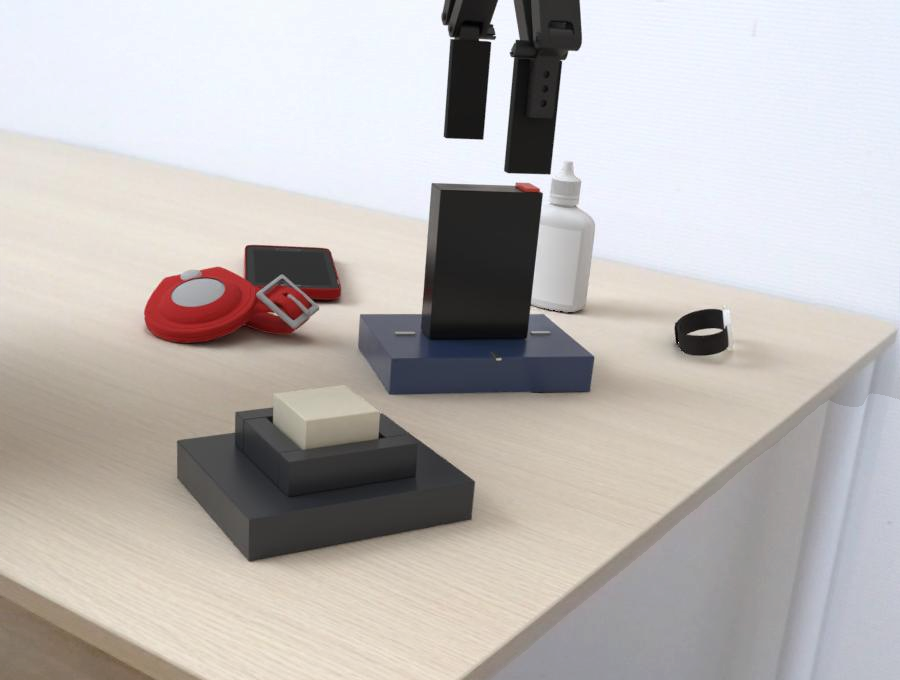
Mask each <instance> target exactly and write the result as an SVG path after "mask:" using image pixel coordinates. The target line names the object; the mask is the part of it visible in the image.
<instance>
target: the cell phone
mask: <svg viewBox="0 0 900 680" xmlns="http://www.w3.org/2000/svg"><path fill="white" fill-rule="evenodd" d="M243 256H244V257H243V259H244V279H245V280H247V281H248V282H250V283H251V284H252V285H253V286H255V287H257V288H260V289H263V288H264V287H265V286H267V285H268V284H269V283H271V282H272V281H273V280H275V279H276V278H277V277H279V276H280V275H281V274H282V275H284V276H285V277H287V278H288V279H289V280H290V281H291V282H292V283H293V284H294V285H296V286H297V287H298V288H299V289H300V290H301V291H302V292H304V293H305V294H306V295H307V296H308V297H309V298H310V299H311V300H325V301H326V300H327V301H328V300H331V301H332V300H338V299H340V298H341V296H342V285H341V281H340V278H339V275H338V271H337V268H336V264H335V261H334V258H333V254H332V251H331V250H330V249H329V248H326V247H314V246H294V245H293V246H292V245H291V246H289V245H268V244H247V245H246V246H245V247H244V255H243ZM277 285H283V286H286V285H285V284H284V283H283V282H280V283H278V284H277ZM286 287H287V286H286Z"/></svg>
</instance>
